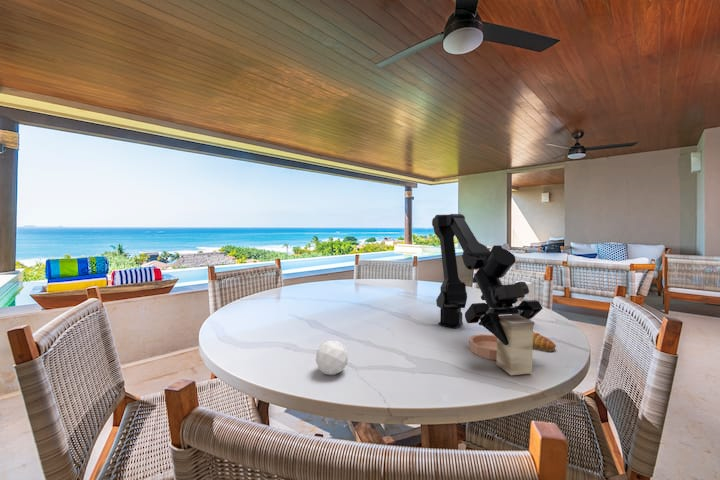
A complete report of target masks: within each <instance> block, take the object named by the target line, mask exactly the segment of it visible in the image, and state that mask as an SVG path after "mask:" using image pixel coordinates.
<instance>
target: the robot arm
mask: <svg viewBox="0 0 720 480" xmlns="http://www.w3.org/2000/svg"><path fill="white" fill-rule="evenodd" d="M431 225H432V229H433V231H434V234H435V236H436V237H437V238H438V239H439V244H440V253H441V254H440V255H441V261H442V262H441V263H442V272H443V281H442V284H441V285H440V293H439V294H438V296H437V298H436V300H435V302H436V307H438V308H440V309H439V310H440V313H439V315H440V316H439V317H440V321H439V322H438V323H437V324H438V325H439V326H444V327H448V328H451V329H457V328H458V327H460V326H462V325H463V324H464V323H463V312H462V309H465V308H466V304H467V301H468V300H467V299H468V294H467V288H466V283H465V282H462V280H461V279H460V278H459V272H458V270H459V269H458V263H457V254H456V245H455V239H454V238H456V240H457V242H458V244H459V245H460V247H461V249H462V255H461V257H462V261H463V264H464V266H465V268H466V269H467V270H471V271H472V270H477V271H476V272H475V273H474V274H473V278H472V283H473V284H477V285H478V287H479V290H480V292H481V296H480V299H481V300H482V301H485V302H480V303H479V302H478V303H475V302H474V303H471V305H470V306H469V307H468V308H467V310H466V311H465V313H464V318H465V321H466V323H467V324H477V323H478V325H479V326H482V327H483V328H484V329H486V330H487V331H488V332H490V333H491V335H495V336H496V337H497V338H498V339H499V340H500V341H501V342H502V343H503V344H504V345H508V344H509V343H508V340H507V337H506V335H505V333H504V330H503V328H502V326H501V324H500V322H499V316H502V315H517V314H518V315H520V316H522V317H524V318H527V319H531V320H532V319H533V318H535V316H536V315H538V313H540V312H541V311H542V310H543V306H542V305H541V303H540V301H539V300H537V299H534V300H525V301H522V302H521V303H520V304H519V305H518V306H513V304H514V303H516V302H517V300H516V299H517V298H520V297H522V298H523V297H525V294H528V293H529V289H528V286H527V285H526V283H525V282H524V281H525V280H521V281H522V282H518V283H515V284H513V283H512V284H503V283H502V281H501V278H503V277H505V275H506V274H508V271H510V269H511V267H513V265H514V264H515V263H516V256H515V255H514V254H513V252H510V250H508V249H506V248H503V247H502V245H501V244H500V245H493V247H491V248H492V249H491V250H490V249H489V248H488V247H487V246H486V245H485V244H483V243H481V242H479V241H478V240H477V238H476V236H475V234H474V233H473V231H472V229H471V228H470V226H469V224H468V223H467V222H466V217H465V215H464V214H461V213H450V214H436V215H435V216H434V217H433V218H432V219H431Z"/></svg>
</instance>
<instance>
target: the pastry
mask: <svg viewBox="0 0 720 480" xmlns="http://www.w3.org/2000/svg"><path fill="white" fill-rule="evenodd" d="M556 347H557V345H556V344H555V343H554V342H553V341H552V340H551V339H549V338H547V337H546V336H544V335H542V334H540V333H538V332H535V331H533V350H537V351H541V352H553V351H555V350H556Z"/></svg>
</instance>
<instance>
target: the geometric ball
mask: <svg viewBox="0 0 720 480" xmlns="http://www.w3.org/2000/svg"><path fill="white" fill-rule="evenodd" d="M348 358H349V354H348V351H347V348H346V346H345V345H344V344H342V343H341V342H340V341H337V340H333V339H332V340H331V339H330V340H328V341H326V342H324V343H322V344H320V346H319V348H317V350H316V354H315V362H316V364H317V368H318V369H319V370H320V371H321V373H323V374H324V375H328V376H335V375H338V374H339V373H341V372H343V370H344V369H345V368H346V367H347V365H348Z"/></svg>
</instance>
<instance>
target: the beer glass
mask: <svg viewBox="0 0 720 480" xmlns="http://www.w3.org/2000/svg"><path fill="white" fill-rule="evenodd" d="M522 281H524V282H525V283H526V285H527V286H528V289H529V293H528V294H525V297H523V298H522V297H520V298H517V299H516V300H517V302H516V303H514V304H512V305H513V306H518V305H519V304H520V303H521V302H522V301H525V300H535V283H534V282H533V281H528V280H513V281H512V284H515V283H518V282H522ZM529 320H531V321H532V318H531V319H529Z"/></svg>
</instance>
